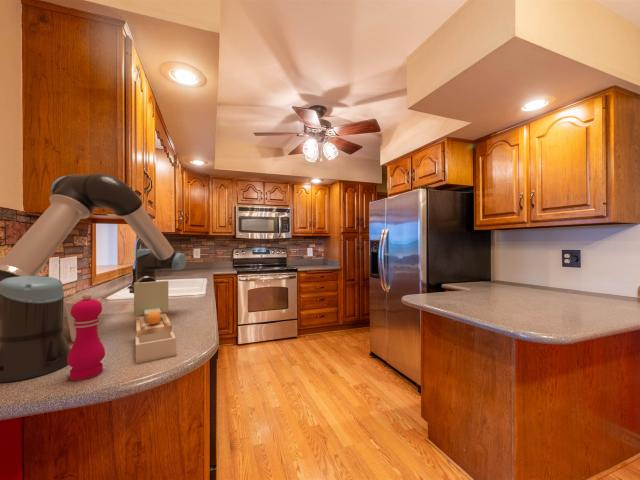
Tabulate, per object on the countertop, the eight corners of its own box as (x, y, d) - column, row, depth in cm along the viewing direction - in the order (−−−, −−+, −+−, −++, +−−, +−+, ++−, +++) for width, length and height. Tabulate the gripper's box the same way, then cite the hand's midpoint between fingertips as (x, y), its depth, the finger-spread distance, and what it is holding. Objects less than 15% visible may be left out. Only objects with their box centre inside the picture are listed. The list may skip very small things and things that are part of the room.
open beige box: (135, 363, 75) (136, 345, 76) (135, 352, 83) (135, 335, 83) (175, 355, 81) (175, 338, 81) (171, 345, 89) (171, 329, 89)
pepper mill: (109, 372, 71) (110, 292, 71) (72, 384, 65) (72, 297, 65) (98, 365, 75) (98, 289, 75) (62, 376, 69) (63, 293, 69)
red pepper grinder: (85, 343, 91) (85, 303, 91) (57, 343, 91) (57, 303, 91) (108, 334, 100) (108, 297, 100) (82, 334, 100) (82, 297, 100)
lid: (134, 324, 87) (134, 286, 87) (133, 318, 94) (134, 282, 94) (170, 319, 92) (170, 283, 93) (167, 313, 100) (167, 280, 100)
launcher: (136, 355, 81) (136, 327, 81) (135, 338, 95) (135, 314, 95) (171, 348, 86) (171, 322, 86) (165, 333, 100) (165, 311, 100)
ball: (146, 327, 85) (146, 313, 85) (145, 323, 88) (145, 311, 88) (161, 324, 87) (161, 311, 87) (160, 321, 90) (160, 309, 90)
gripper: (164, 293, 124) (171, 302, 104) (128, 296, 117) (128, 307, 97) (164, 275, 124) (171, 282, 104) (128, 278, 117) (128, 285, 97)
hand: (150, 294), depth 101 cm, fingers closed
